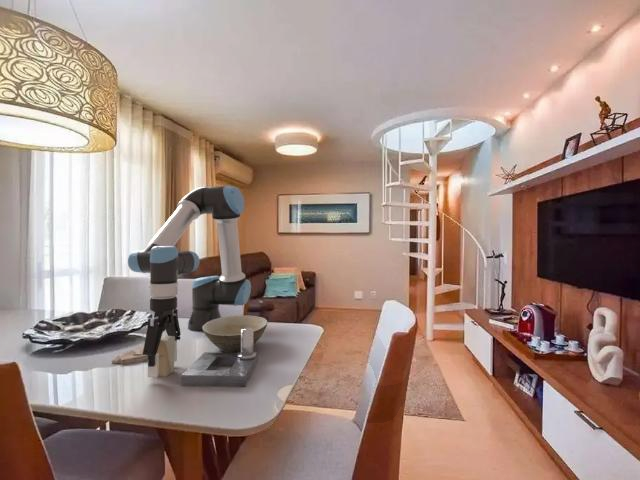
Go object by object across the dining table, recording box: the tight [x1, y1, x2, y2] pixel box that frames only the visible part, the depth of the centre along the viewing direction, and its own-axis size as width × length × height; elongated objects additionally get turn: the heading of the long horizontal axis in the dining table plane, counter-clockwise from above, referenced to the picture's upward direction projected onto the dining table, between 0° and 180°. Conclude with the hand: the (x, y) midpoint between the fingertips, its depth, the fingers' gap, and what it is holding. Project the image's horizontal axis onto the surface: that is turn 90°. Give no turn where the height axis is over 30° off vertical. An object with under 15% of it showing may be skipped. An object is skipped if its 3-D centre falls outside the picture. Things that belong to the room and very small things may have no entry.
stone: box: [111, 347, 148, 365], centre depth 111 cm, size 12×12×3 cm
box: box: [157, 334, 175, 377], centre depth 99 cm, size 5×4×11 cm
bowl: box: [202, 314, 268, 353], centre depth 122 cm, size 24×24×10 cm
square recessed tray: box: [180, 351, 259, 388], centre depth 100 cm, size 18×18×3 cm
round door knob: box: [237, 327, 257, 360], centre depth 106 cm, size 6×6×12 cm
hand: (163, 368), depth 99 cm, fingers open, 11 cm apart
